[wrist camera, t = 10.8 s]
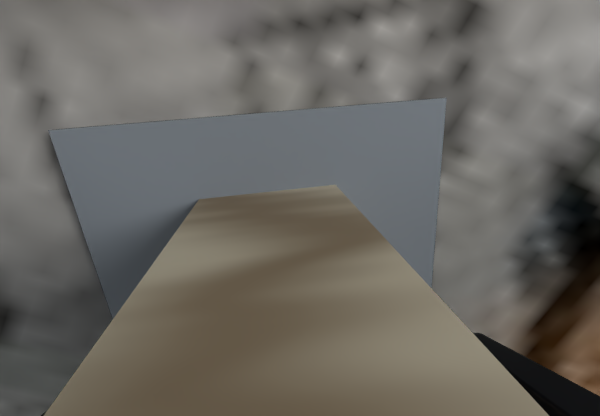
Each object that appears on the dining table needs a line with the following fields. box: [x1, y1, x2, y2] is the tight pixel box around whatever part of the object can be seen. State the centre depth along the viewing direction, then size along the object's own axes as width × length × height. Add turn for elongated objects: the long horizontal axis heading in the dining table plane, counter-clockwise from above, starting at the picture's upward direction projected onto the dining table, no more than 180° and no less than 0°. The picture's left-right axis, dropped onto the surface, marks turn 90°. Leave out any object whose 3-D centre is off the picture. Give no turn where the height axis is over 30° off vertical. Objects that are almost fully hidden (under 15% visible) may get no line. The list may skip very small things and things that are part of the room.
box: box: [44, 185, 549, 416], centre depth 7 cm, size 4×7×9 cm, turn 5°
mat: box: [48, 98, 446, 318], centre depth 11 cm, size 12×12×1 cm
